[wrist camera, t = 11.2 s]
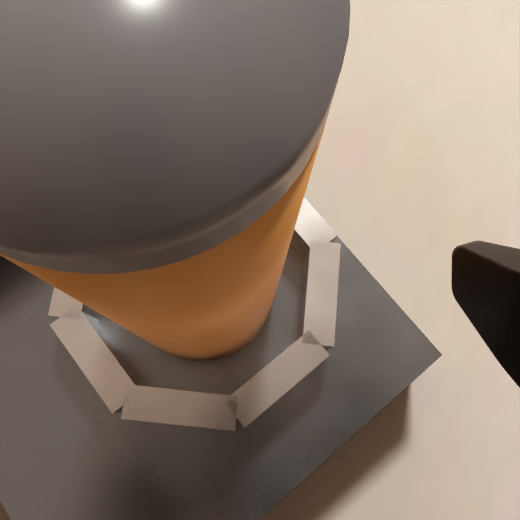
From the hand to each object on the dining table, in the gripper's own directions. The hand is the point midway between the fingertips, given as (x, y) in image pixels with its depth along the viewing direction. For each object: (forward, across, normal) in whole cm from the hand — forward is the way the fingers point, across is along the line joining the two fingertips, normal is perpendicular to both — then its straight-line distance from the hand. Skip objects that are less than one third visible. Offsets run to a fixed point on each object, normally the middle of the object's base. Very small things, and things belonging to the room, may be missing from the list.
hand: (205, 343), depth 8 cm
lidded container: (+8, 0, +4) cm, 9 cm away
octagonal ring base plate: (+11, +2, +6) cm, 12 cm away
